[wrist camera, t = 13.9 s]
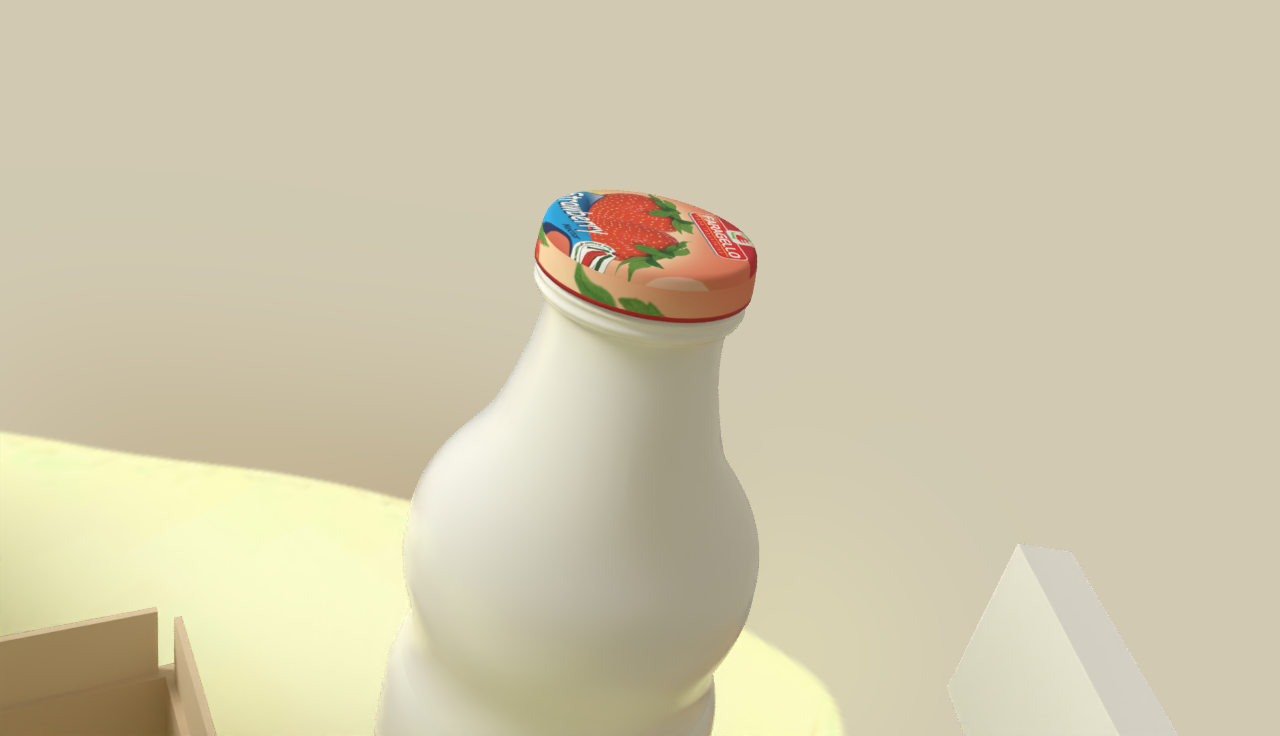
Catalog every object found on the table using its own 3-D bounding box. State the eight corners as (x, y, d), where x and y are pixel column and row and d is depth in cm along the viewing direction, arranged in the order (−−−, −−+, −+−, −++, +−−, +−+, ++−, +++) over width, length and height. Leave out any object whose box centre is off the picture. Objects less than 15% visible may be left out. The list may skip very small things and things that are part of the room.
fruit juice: (342, 872, 40) (423, 131, 27) (593, 852, 43) (778, 174, 29) (343, 1159, 32) (457, 313, 19) (650, 1112, 35) (937, 347, 22)
